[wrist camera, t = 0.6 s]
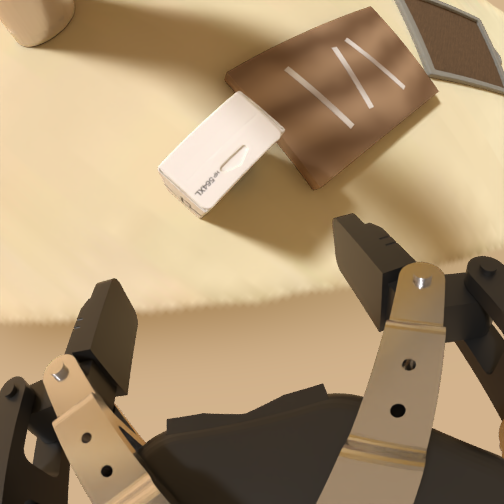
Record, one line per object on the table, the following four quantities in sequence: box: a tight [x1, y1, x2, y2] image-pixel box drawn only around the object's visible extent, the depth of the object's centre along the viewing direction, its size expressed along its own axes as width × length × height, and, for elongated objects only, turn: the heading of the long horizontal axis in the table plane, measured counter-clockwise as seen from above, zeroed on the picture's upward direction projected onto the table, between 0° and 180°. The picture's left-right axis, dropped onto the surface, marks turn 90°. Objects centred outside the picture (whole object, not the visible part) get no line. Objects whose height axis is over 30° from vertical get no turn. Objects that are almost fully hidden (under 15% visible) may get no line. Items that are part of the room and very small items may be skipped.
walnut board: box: [225, 6, 439, 190], centre depth 34 cm, size 16×26×2 cm, turn 129°
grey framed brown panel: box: [394, 0, 504, 95], centre depth 39 cm, size 19×2×30 cm
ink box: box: [158, 91, 285, 219], centre depth 27 cm, size 9×5×12 cm, turn 138°
